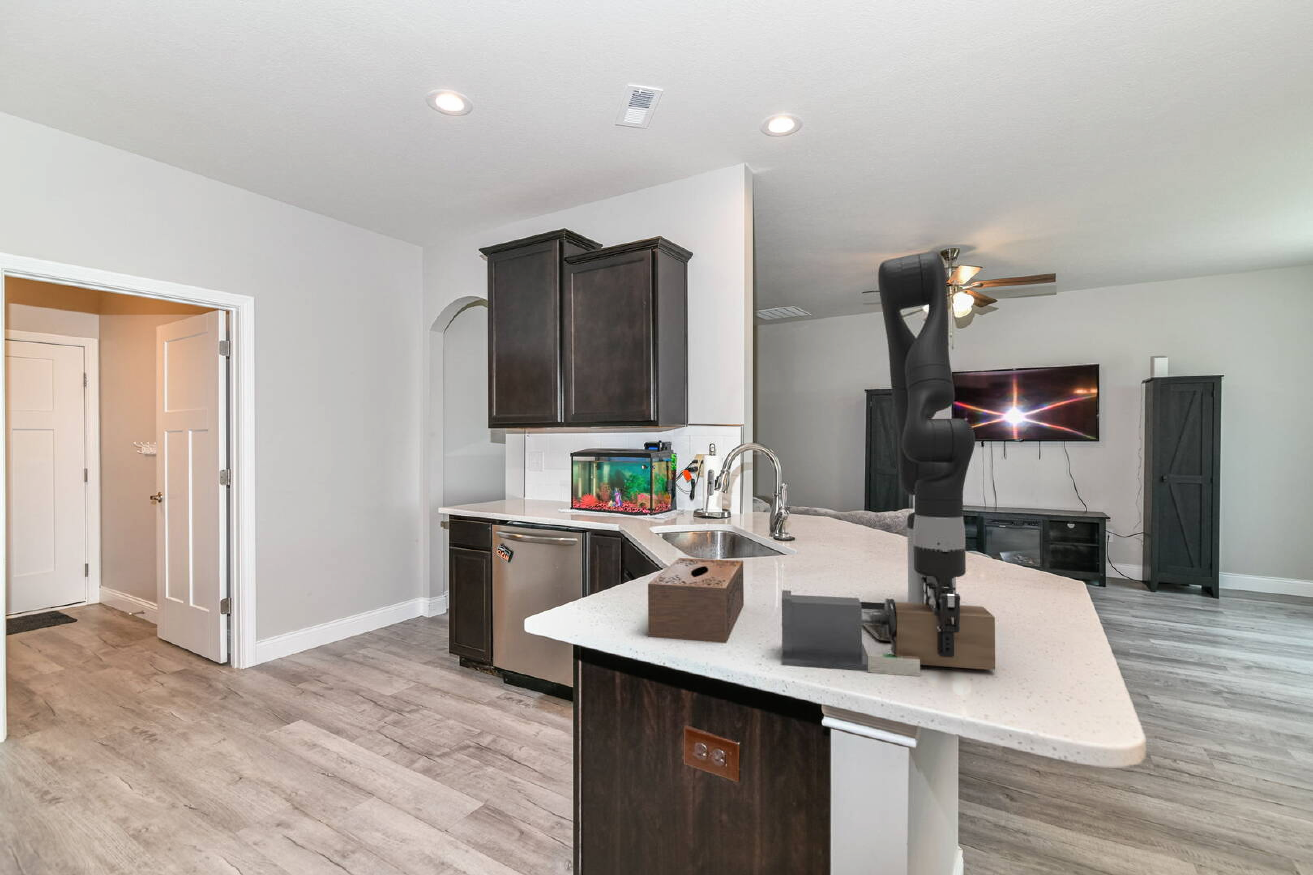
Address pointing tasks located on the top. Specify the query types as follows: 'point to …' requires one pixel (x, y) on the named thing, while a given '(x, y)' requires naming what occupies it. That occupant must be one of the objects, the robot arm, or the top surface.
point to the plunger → (883, 619)
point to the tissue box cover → (696, 600)
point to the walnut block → (969, 644)
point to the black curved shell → (876, 630)
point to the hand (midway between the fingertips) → (940, 648)
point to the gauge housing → (833, 637)
